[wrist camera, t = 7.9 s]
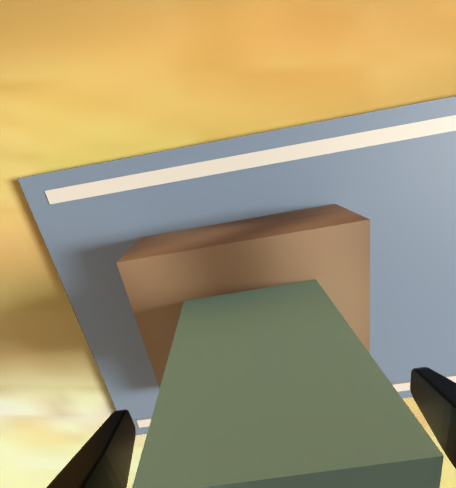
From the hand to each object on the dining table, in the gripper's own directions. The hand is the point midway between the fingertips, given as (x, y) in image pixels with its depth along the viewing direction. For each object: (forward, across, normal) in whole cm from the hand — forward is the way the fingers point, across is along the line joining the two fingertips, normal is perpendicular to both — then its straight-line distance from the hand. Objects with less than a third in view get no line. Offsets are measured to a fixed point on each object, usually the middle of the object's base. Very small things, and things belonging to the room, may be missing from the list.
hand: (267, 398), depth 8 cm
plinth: (+6, 0, 0) cm, 6 cm away
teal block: (+2, 0, 0) cm, 2 cm away
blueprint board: (+6, -2, 0) cm, 7 cm away
